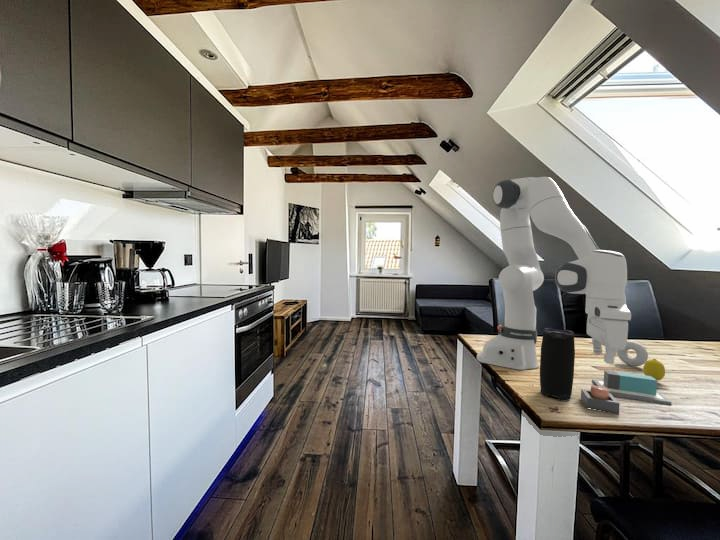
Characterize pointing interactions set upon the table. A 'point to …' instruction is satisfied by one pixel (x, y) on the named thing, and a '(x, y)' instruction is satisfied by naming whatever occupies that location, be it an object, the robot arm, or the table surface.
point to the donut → (639, 349)
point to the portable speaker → (557, 363)
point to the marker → (630, 382)
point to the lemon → (654, 369)
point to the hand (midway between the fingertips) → (602, 358)
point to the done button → (599, 392)
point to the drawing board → (634, 394)
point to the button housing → (600, 402)
